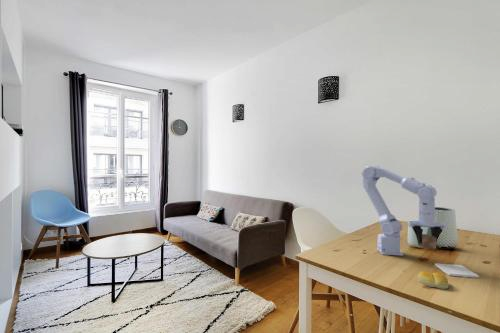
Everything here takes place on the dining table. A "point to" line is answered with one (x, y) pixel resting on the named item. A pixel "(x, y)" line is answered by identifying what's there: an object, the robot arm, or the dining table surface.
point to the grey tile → (456, 270)
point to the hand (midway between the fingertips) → (426, 243)
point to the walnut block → (428, 242)
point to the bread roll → (433, 279)
